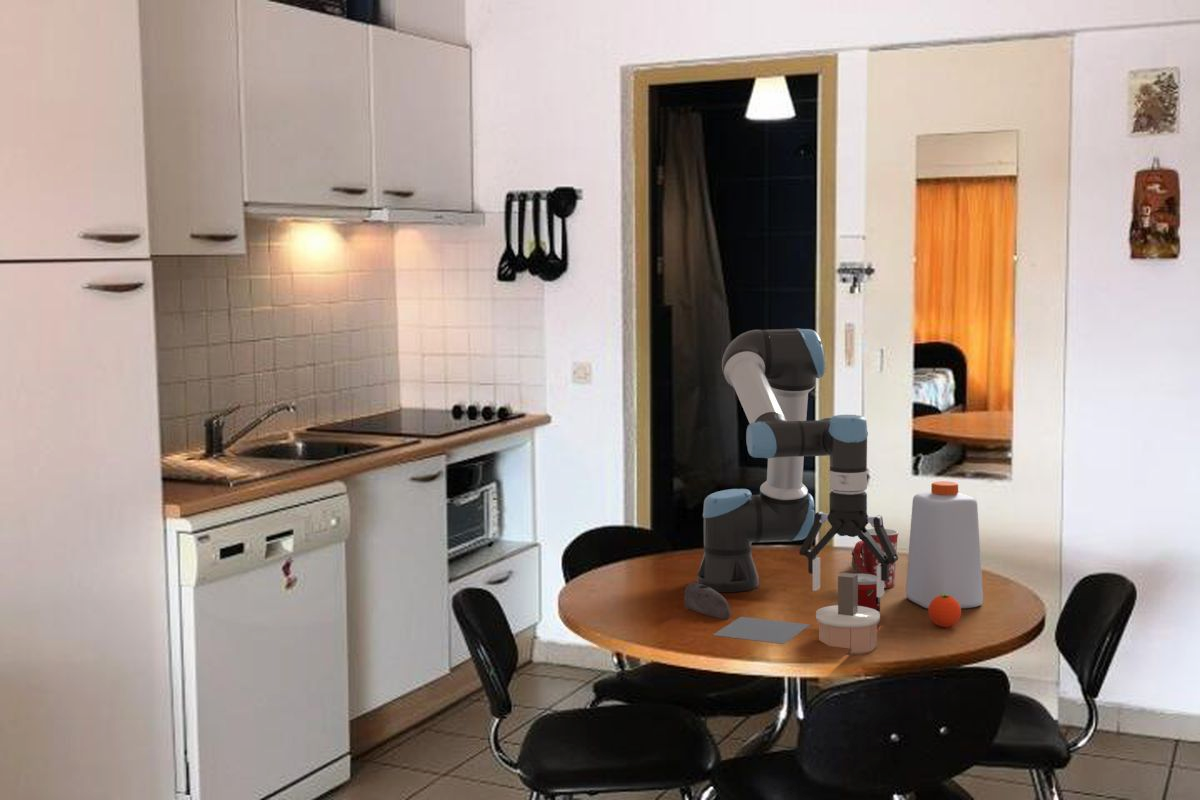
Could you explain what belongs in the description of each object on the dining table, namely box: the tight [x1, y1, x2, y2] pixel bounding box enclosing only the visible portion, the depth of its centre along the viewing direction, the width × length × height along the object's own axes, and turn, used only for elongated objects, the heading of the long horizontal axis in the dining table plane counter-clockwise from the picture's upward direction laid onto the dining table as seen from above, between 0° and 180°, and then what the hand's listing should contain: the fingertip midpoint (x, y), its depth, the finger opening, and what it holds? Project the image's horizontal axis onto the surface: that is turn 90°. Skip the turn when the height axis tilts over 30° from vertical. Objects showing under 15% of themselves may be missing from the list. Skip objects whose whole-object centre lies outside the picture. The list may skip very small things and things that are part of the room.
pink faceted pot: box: [818, 621, 878, 656], centre depth 284 cm, size 11×11×6 cm
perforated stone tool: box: [683, 582, 731, 620], centre depth 308 cm, size 15×5×7 cm, turn 28°
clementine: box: [927, 594, 962, 628], centre depth 299 cm, size 8×7×7 cm
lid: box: [815, 572, 881, 627], centre depth 283 cm, size 13×13×9 cm
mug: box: [853, 527, 899, 589], centre depth 334 cm, size 13×9×14 cm
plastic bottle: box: [905, 480, 984, 610], centre depth 317 cm, size 15×15×28 cm
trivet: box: [712, 616, 810, 645], centre depth 293 cm, size 16×16×2 cm
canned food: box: [857, 573, 881, 630], centre depth 299 cm, size 8×8×11 cm
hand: (848, 592), depth 283 cm, fingers open, 13 cm apart
